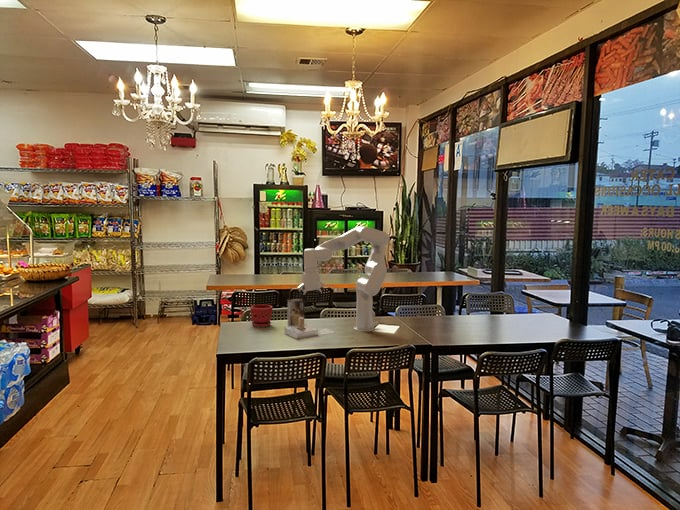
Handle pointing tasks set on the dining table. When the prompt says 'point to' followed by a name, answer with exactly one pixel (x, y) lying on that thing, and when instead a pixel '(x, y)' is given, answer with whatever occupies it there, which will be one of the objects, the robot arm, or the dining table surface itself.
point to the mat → (325, 331)
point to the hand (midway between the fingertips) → (311, 300)
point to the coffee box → (295, 311)
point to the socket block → (300, 331)
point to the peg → (301, 323)
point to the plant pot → (261, 315)
